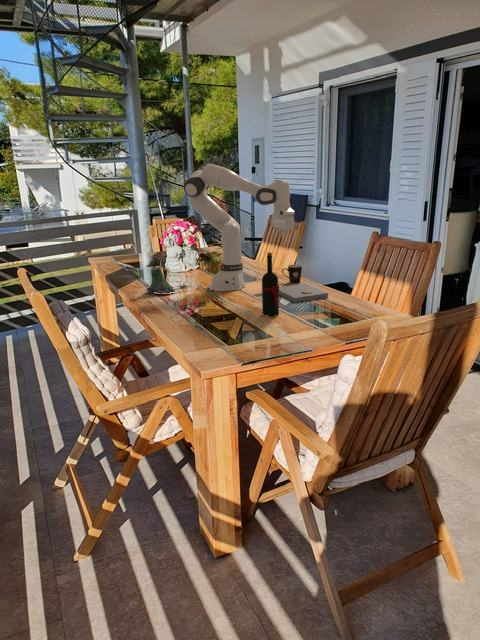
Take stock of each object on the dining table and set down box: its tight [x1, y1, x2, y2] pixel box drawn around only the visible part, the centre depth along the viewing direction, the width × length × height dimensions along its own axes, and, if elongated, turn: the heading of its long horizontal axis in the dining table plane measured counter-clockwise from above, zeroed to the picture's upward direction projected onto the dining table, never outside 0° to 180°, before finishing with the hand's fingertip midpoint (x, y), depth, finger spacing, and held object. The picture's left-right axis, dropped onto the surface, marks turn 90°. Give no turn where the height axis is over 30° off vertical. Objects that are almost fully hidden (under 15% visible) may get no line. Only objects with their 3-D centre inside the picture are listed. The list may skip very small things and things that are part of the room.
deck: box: [278, 283, 329, 303], centre depth 265 cm, size 20×25×2 cm
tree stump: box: [145, 265, 175, 293], centre depth 281 cm, size 18×20×18 cm
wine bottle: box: [261, 252, 280, 317], centre depth 227 cm, size 8×10×30 cm
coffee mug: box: [281, 264, 303, 284], centre depth 294 cm, size 12×9×10 cm
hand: (282, 236), depth 264 cm, fingers closed
